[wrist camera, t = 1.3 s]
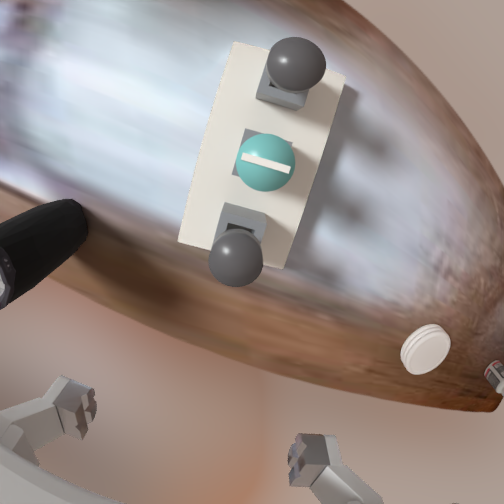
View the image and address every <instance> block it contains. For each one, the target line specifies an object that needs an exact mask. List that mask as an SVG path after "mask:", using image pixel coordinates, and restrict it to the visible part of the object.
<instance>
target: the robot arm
mask: <svg viewBox="0 0 504 504" xmlns="http://www.w3.org/2000/svg"><path fill="white" fill-rule="evenodd" d="M94 396H95V391H94V389H93V388H91V387H88V386H86V385H84V384H81V383H79V382H77V381H74V380H72V379H70V378H67V377H65V376H62V375H61V376H59V377H58V378H57V379H56V381H55V382H54V383H53V385H52V386H51V387H50V388H49V390H48V391H47V393H46V394H45V395H44V397H43V398H42V399H41V398H36V399H34V400H31V401H28V402H25V403H22V404H19V405H16V406H13V407H10V408H7V409H4V410H2V411H0V504H125V503H122V502H119V501H116V500H113V499H110V498H108V497H105V496H102V495H100V494H97V493H94V492H92V491H90V490H87V489H84V488H82V487H80V486H78V485H75V484H73V483H71V482H69V481H67V480H64V479H62V478H60V477H58V476H56V475H54V474H52V473H50V472H48V471H46V470H44V469H42V468H41V467H39V464H40V463H39V460H38V459H37V457H36V455H35V453H34V451H36V450H37V449H39V448H41V447H43V446H45V445H46V444H48V443H50V442H52V441H54V440H55V439H57V438H59V437H61V436H62V435H64V433H65V434H68V435H70V436H72V437H75V438H77V439H80V440H83V438H84V437H85V435H86V433H87V431H88V426H87V424H89V423H91V422H92V421H93V419H94V418H95V414H96V411H97V404H96V401H95V400H94V398H93V397H94ZM295 441H296V443H294V444H292V445H291V447H290V449H289V453H288V465H289V467H290V468H291V471H290V472H289V483H290V486H295V487H310V489H311V490H312V492H313V493H314V494H315V496H316V497H317V498H318V500H319V501H320V502H321V503H322V504H384V503H383V500H382V497H381V496H380V495H379V494H378V493H376V492H375V491H374V490H373V489H372V488H371V487H370V486H369V485H367V484H366V483H365V482H364V481H363V480H362V479H361V478H360V477H359V476H358V475H356V474H355V473H354V472H353V471H352V470H351V469H350V468H349V467H348V466H347V465H343V462H342V458H341V454H340V450H339V446H338V442H337V438H336V436H335V435H321V434H302V433H299V434H298V435H297V436H296V438H295ZM453 504H458V503H453Z"/></svg>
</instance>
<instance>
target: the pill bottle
mask: <svg viewBox="0 0 504 504" xmlns="http://www.w3.org/2000/svg"><path fill="white" fill-rule="evenodd" d="M484 376H485V377H486V379H487V380H488V381H489V382H490V384H491V385H492V386H493V388H494V389H495V390H496V392H497V393H502V395H503V396H504V366H503V365H502V364H501V363H500V362H499V361H498V360H495V361H493V362H492V363H491V364H490V365H489V366H488V367H487V368H486V370H485V372H484Z"/></svg>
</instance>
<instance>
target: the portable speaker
mask: <svg viewBox="0 0 504 504" xmlns="http://www.w3.org/2000/svg"><path fill="white" fill-rule="evenodd" d="M87 235H88V231H87V224H86V220H85V218H84V215H83V212H82V209H81V205H80V204H78V203H77V202H75V201H74V200H72V199H62V200H57V201H54V202H50V203H47V204H43V205H40V206H37V207H35V208H32V209H30V210H28V211H26V212H24V213H21V214H19V215H17V216H15V217H13V218H11V219H9V220H7V221H5V222H3V223H1V224H0V310H1V309H3V308H4V307H6V306H7V305H8V304H9V303H11V302H12V301H14V300H15V299H17V298H18V297H20V296H21V295H23V294H24V293H26V292H27V291H29V290H30V289H32V288H33V287H35V286H36V285H37V284H38V283H39V282H41V281H42V280H43V279H44V278H45V277H47V276H48V275H49V274H50V273H51V272H53V271H54V270H55V269H56V268H57V267H59V266H60V265H61V264H62V263H64V262H65V261H66V260H67V259H68V258H69V257H70V256H72V255H73V254H74V253H75V252H76V251H77V250H78V248H79V247H80V245H81V244H82V243H83V242H84V241H85V240H86V238H87Z"/></svg>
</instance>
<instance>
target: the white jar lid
mask: <svg viewBox="0 0 504 504" xmlns="http://www.w3.org/2000/svg"><path fill="white" fill-rule="evenodd" d="M450 344H451V342H450V338H449V335H448V334H447V333H446V332H445V331H444V330H443V328H442V327H441V326H439V325H437V324H428V325H425V326H422V327H420V328H419V329H417V330H416V331H414V332H413V333H412V334H411V335H410V336H409V337H408V338H407V339H406V341H405V342H404V344H403V346H402V348H401V353H400V356H401V360H402V362H403V364H404V366H405V367H406V369H407V371H409V372H410V373H411V374H415V375H419V374H424V373H427V372H429V371H431V370H433V369H434V368H436V367H437V366H438V365H439V364H440V363H441V362H442V361H443V360H444V359H445V357H446V356H447V354H448V352H449V349H450Z"/></svg>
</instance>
